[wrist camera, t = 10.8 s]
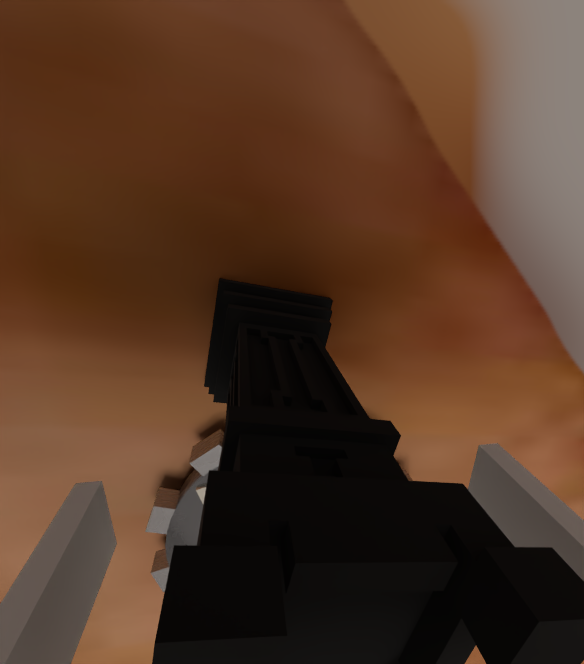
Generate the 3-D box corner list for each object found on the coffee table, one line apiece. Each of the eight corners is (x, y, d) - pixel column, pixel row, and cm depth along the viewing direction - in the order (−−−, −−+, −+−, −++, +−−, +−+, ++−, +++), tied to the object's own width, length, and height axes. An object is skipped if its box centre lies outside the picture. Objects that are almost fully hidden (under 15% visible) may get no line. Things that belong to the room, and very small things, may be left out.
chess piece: (219, 278, 22) (119, 622, 4) (329, 297, 24) (648, 599, 5) (205, 381, 25) (101, 899, 6) (305, 392, 26) (465, 823, 8)
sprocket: (206, 630, 33) (189, 845, 22) (102, 464, 24) (-13, 677, 13) (419, 557, 34) (506, 726, 23) (390, 375, 26) (507, 501, 14)
